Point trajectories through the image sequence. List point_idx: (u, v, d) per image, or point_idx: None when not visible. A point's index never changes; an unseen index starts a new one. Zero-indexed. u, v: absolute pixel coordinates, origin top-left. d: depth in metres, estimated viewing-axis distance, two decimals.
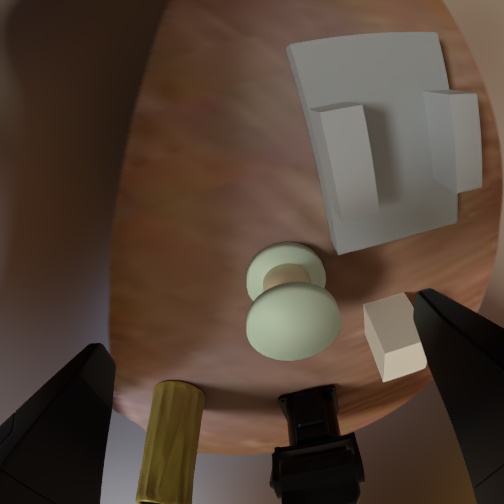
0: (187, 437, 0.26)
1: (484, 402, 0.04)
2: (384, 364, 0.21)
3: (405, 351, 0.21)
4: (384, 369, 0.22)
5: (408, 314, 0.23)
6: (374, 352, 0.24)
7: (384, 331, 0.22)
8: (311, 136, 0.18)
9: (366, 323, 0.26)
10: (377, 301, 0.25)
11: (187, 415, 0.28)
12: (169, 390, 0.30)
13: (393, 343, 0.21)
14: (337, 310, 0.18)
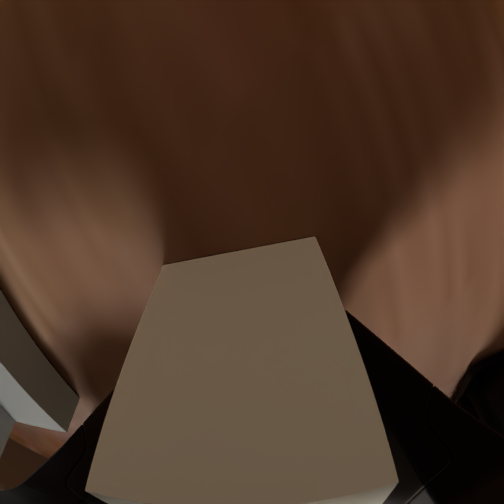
0: None
1: None
2: None
3: None
4: None
5: None
6: None
7: None
8: None
9: None
10: None
11: None
12: None
13: None
14: None
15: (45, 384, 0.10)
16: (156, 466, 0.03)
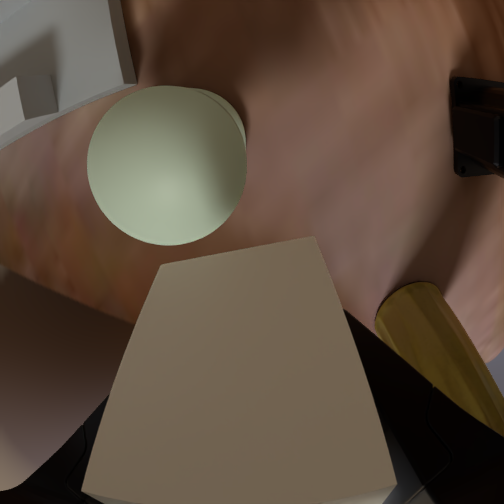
0: (436, 355, 0.15)
1: None
2: None
3: None
4: None
5: None
6: None
7: None
8: (22, 135, 0.14)
9: None
10: None
11: (415, 330, 0.17)
12: (382, 329, 0.21)
13: None
14: (122, 101, 0.09)
15: (123, 46, 0.12)
16: (153, 466, 0.03)
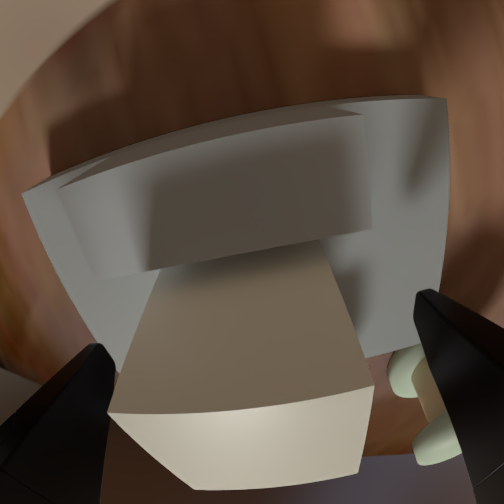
0: None
1: (484, 402, 0.04)
2: (251, 486, 0.06)
3: (191, 467, 0.05)
4: (279, 484, 0.06)
5: None
6: None
7: None
8: None
9: None
10: None
11: None
12: None
13: None
14: None
15: None
16: (172, 383, 0.04)
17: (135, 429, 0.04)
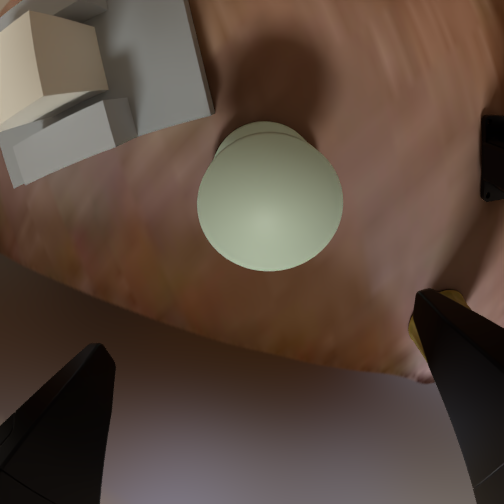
0: None
1: (484, 402, 0.04)
2: (2, 122, 0.08)
3: None
4: (11, 115, 0.08)
5: None
6: (63, 99, 0.11)
7: None
8: None
9: (68, 106, 0.13)
10: None
11: None
12: (416, 331, 0.23)
13: None
14: (237, 144, 0.11)
15: (204, 76, 0.14)
16: None
17: None
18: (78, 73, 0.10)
